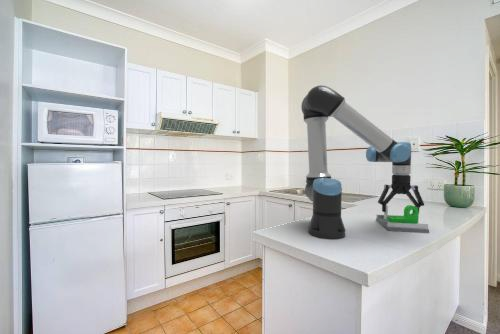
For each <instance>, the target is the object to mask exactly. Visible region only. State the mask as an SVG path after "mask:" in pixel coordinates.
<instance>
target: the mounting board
mask: <svg viewBox="0 0 500 334" xmlns="http://www.w3.org/2000/svg"><path fill="white" fill-rule="evenodd" d="M375 221H376V222H377V224H379V225H380V226H381V227H383V228H384V229H386V230H387V231H389V232H401V233H403V232H406V233H421V234H423V233H424V234H430V229H429V228H428V229H415V228H397V227H388V226H387V222H389V221H388V220H386V219H377V218H375Z"/></svg>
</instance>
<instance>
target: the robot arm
mask: <svg viewBox="0 0 500 334" xmlns="http://www.w3.org/2000/svg"><path fill="white" fill-rule="evenodd" d="M300 107H301V108H300V109H301V112H302V114H303V122H305V124H306V129H307V130H306V132H307V149H308V150H307V152H308V155H307V156H308V174H307V175H306V177H305V179H306V184H305V188H304V190H305V195H306V197H307V198H308V199H309V200H310V201H311V202H312V215H311V219H310V222H309V224H308V233H309V234H310V235H311V236H312V237H313V236H314V237H316V238H320V239H329V240H330V239H331V240H333V239H334V240H335V239H342V238H344V237H346V228H345V224H344V222H343V217H342V195H343V187H342V182H341V181H340V180H338V179H335V178H332V174H330V173H329V172H328V155H327V153H328V152H327V151H328V150H327V129H326V128H327V127H326V122H327V121H328V120H329V119H330V118H332V117H333V119H335V120H336V121H338V122H339V123H340V124H342V126H344V127H345V128H347V129H348V130H349V131H351V132H352V133H353V134H354V135H355V136H357V137H358V138H360V139H361V140H362V141H363V142H364V143H366V144H367V145H368V147H367V149H366V151H365V157H366V161H368V162H369V163H391V174H392V175H391V184H386V183H385V184H384V185H383V191H382V192H381V194H380V196H379V198H378V200H377V203H378V204H379V205H381V211H382V212H383V215H384V219H386V220H388V215H389V214H388V213H389V206H388V203H390V201H391V200H392V199H393V198H394V196H396V195H406V196H407V198H408V199H409V200H410V201H411V202H412V204H413V206H415V207H417V208H418V210H419V211H420V208H421V207H424V206H425V202H424V200H423V199H422V195H421V193H420V191H419V186H418V185H411V177H412V176H411V171H412V168H411V167H412V166H411V163H412V152H413V151H412V144H411V142H410V141H409V142H408V141H395V140H394V139H393V138H391V136H389V135H388V134H386V133H385V132H384V131H383V130H382V129H381V128H379V127H378V126H376V125H375V124H374V123H373V122H372V121H370V120H369V119H367V117H365V116H363V114H361V113H360V111H358V110H356V109H355V108H353V107H352V106H351V105H350V104H348V103H347V102H346V98H345V97H344V96H342V95H341V94H340V93H338V92H337V91H336V90H334V89H333V88H331V87H329V86H326V85H322V84H321V85H320V84H319V85H317V86H314V87H311V89H310V90H309V91H308V93H307V94H306V96H305V97H304V98H303V99H302V101H301V106H300ZM391 189H392V190H391ZM389 190H391V191H390V192H389ZM410 190H411V191H413V194H414V196H415V197H414V196H413V195H412V193H411V191H410ZM388 192H389V194H388ZM387 194H388V195H387ZM415 198H416V199H415Z"/></svg>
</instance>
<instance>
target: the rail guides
mask: <svg viewBox="0 0 500 334" xmlns="http://www.w3.org/2000/svg"><path fill="white" fill-rule="evenodd" d="M388 216H399V215H394V214H388ZM376 218H377V219H384V214H376ZM376 218H375V219H376ZM387 226H388V227H397V228H415V229H429V224H428V223H419V222H418V223H398V222H387Z"/></svg>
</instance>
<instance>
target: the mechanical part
mask: <svg viewBox="0 0 500 334" xmlns="http://www.w3.org/2000/svg"><path fill="white" fill-rule="evenodd" d="M411 211H412V213H411ZM419 214H420V209H419V210H418V208H417V207H415V205H411V204H409V205H406V206H405V207H404V209H403V215H398V216H388V221H389V222H398V223H418V224H419Z"/></svg>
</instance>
